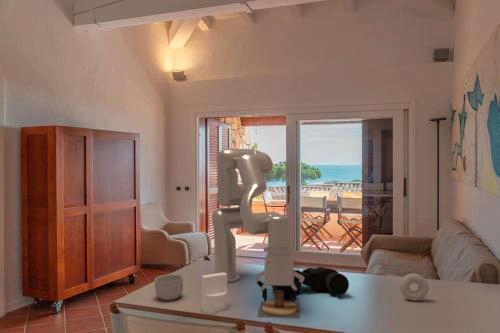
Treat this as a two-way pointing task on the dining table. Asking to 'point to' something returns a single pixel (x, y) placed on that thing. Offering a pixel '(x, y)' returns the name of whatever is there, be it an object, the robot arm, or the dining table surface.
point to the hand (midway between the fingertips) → (279, 300)
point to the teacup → (169, 286)
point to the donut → (414, 294)
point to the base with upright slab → (214, 292)
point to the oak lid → (279, 306)
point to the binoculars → (318, 282)
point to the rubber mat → (296, 315)
